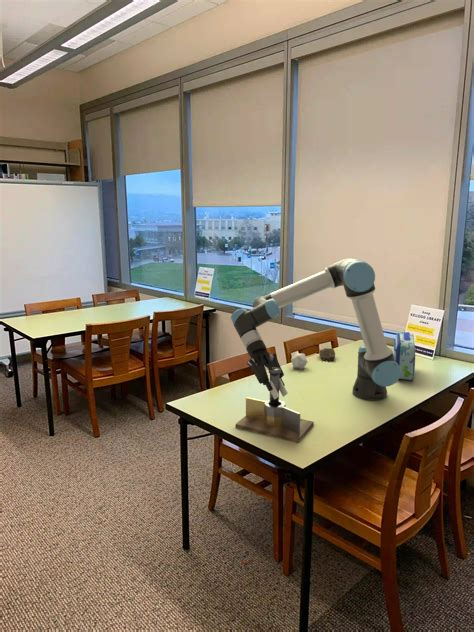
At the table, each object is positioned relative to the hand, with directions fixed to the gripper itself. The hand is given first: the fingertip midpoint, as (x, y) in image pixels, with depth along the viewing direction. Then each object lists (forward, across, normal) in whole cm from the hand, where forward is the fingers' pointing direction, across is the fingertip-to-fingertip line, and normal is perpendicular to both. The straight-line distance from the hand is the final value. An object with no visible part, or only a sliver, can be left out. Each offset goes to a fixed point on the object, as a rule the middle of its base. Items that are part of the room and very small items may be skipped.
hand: (281, 396), depth 167 cm
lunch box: (+4, -92, -16) cm, 93 cm away
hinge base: (+7, 0, -12) cm, 14 cm away
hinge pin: (+1, 0, -6) cm, 6 cm away
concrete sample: (-26, -81, -46) cm, 96 cm away
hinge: (+6, 0, -11) cm, 13 cm away
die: (-25, -56, -44) cm, 76 cm away
